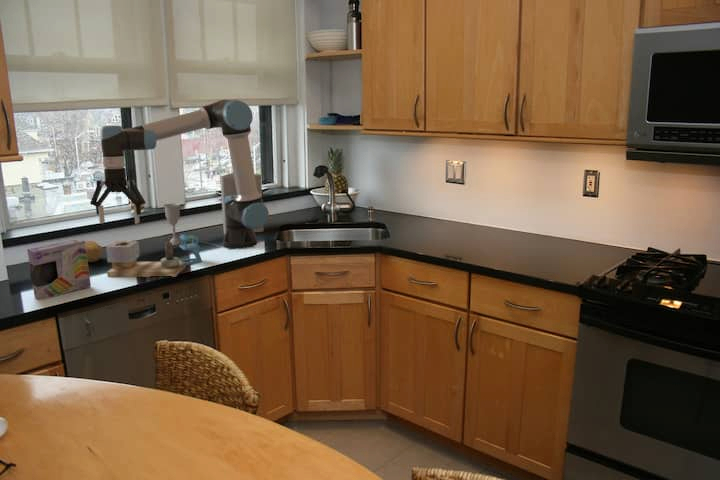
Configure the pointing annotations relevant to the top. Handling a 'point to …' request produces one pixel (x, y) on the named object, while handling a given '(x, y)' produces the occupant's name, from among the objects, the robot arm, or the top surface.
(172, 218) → the chalice
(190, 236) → the chair
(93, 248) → the potato
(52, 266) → the cake pan box
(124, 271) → the board
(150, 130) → the robot arm
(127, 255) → the collar
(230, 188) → the cream rectangular carton
